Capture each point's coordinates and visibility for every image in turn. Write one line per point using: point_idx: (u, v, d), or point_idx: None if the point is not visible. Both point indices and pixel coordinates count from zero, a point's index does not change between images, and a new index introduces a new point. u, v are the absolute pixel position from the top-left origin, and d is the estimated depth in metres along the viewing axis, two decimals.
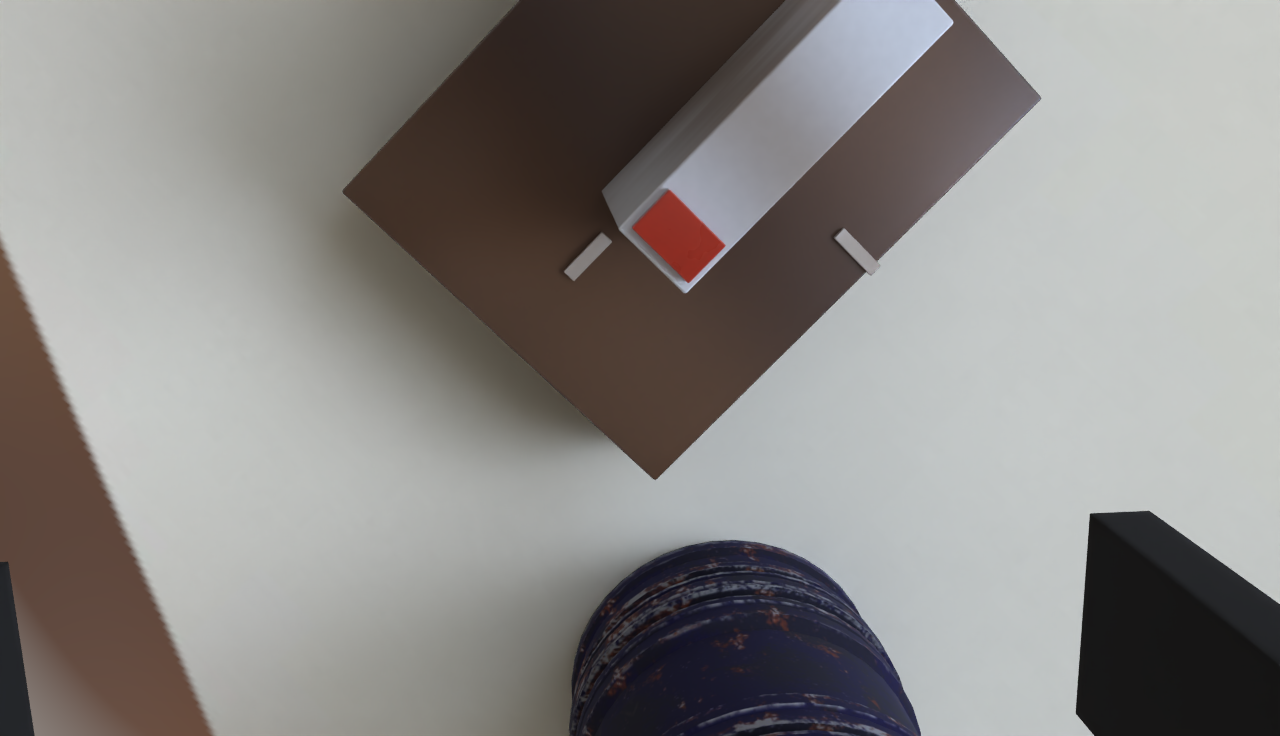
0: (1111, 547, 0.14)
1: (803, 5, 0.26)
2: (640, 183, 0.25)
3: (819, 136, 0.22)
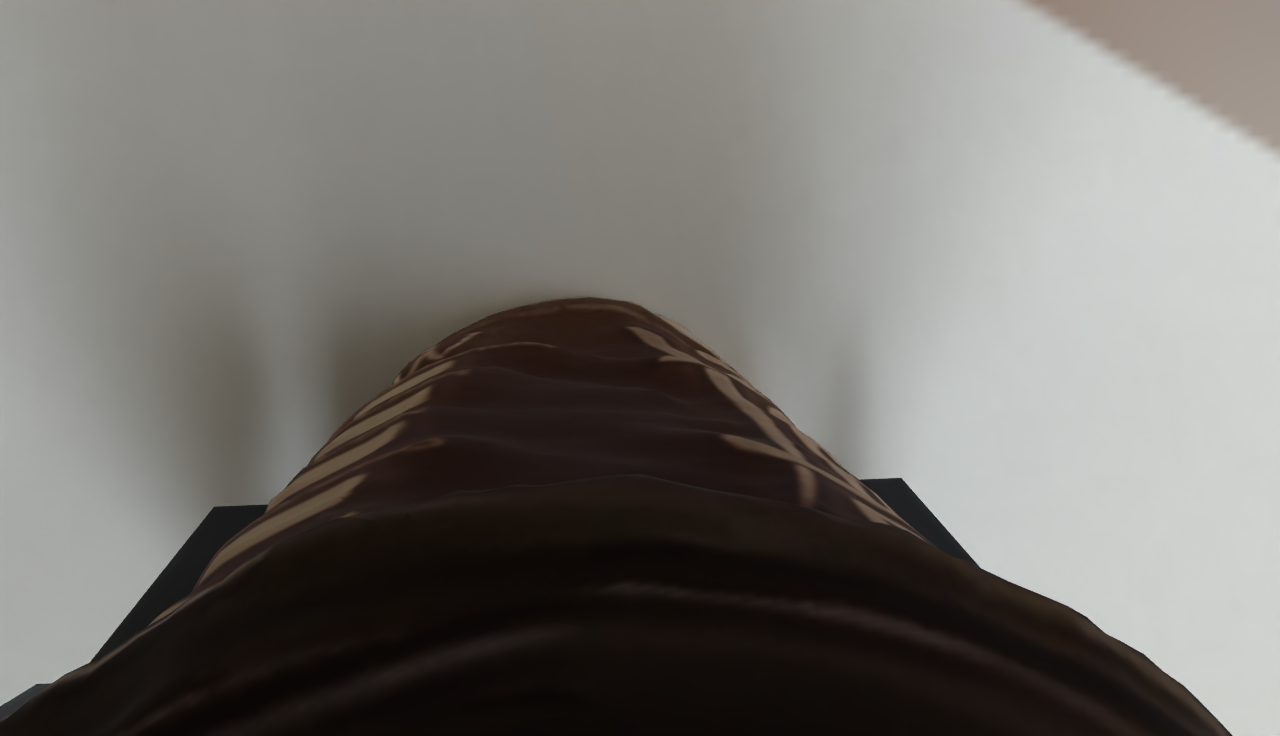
0: None
1: None
2: None
3: None
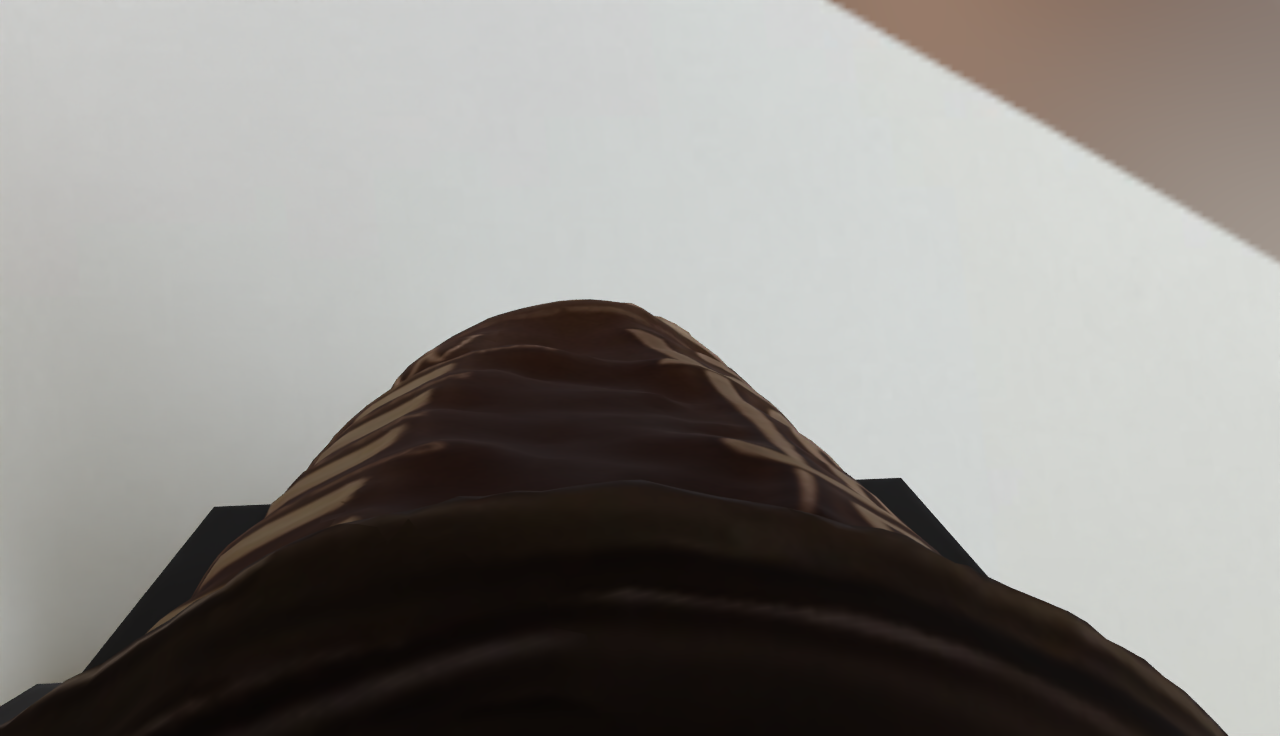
0: None
1: None
2: None
3: None
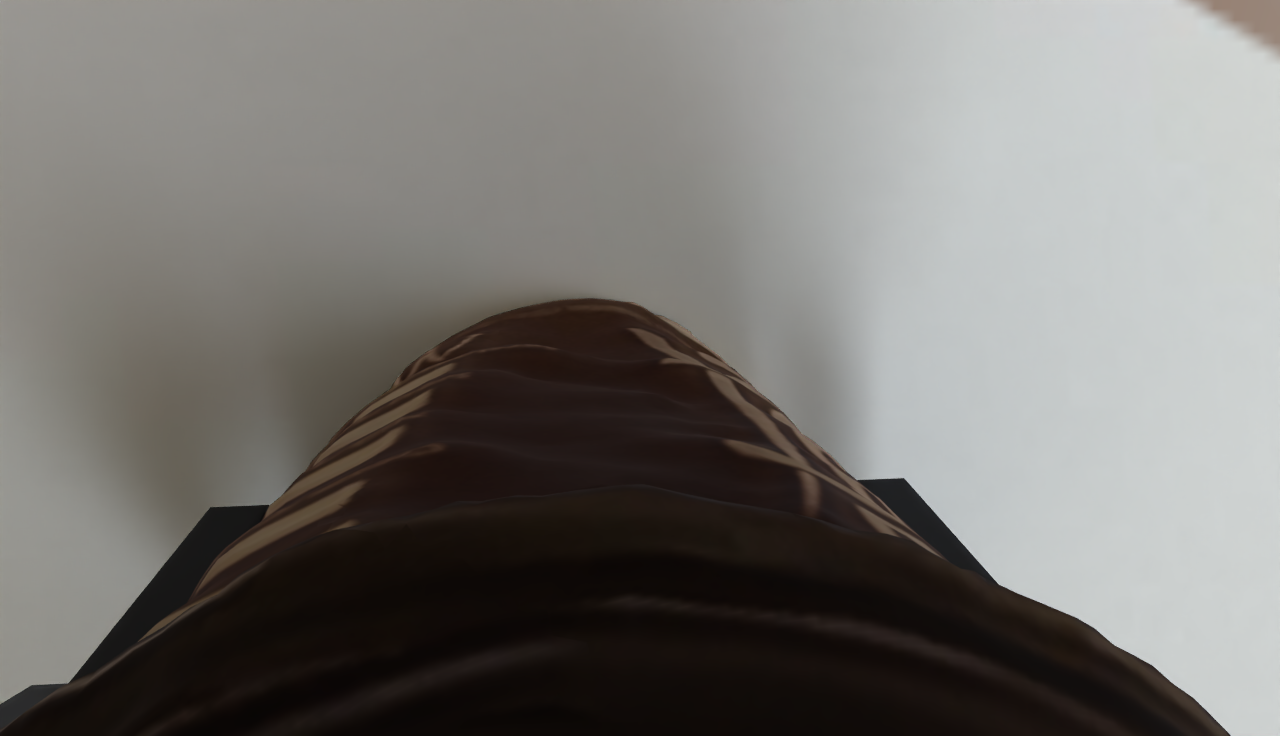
0: None
1: None
2: None
3: None
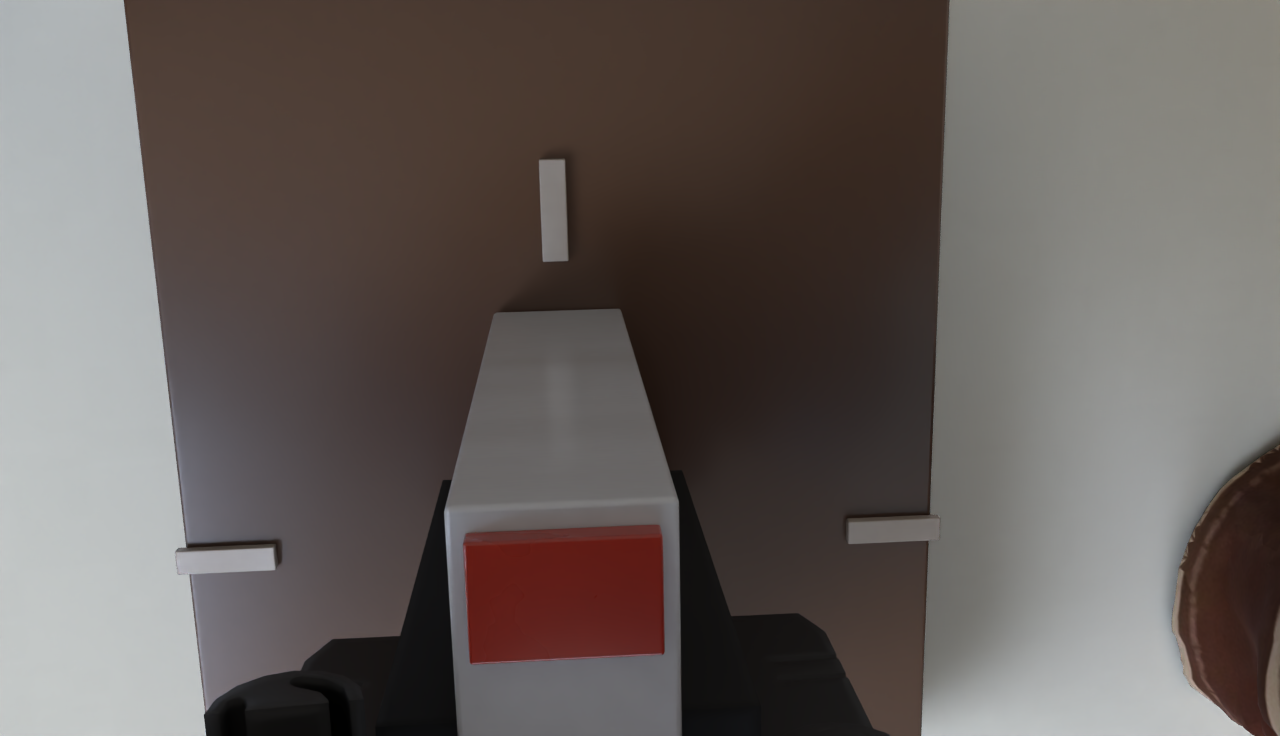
0: None
1: None
2: None
3: None
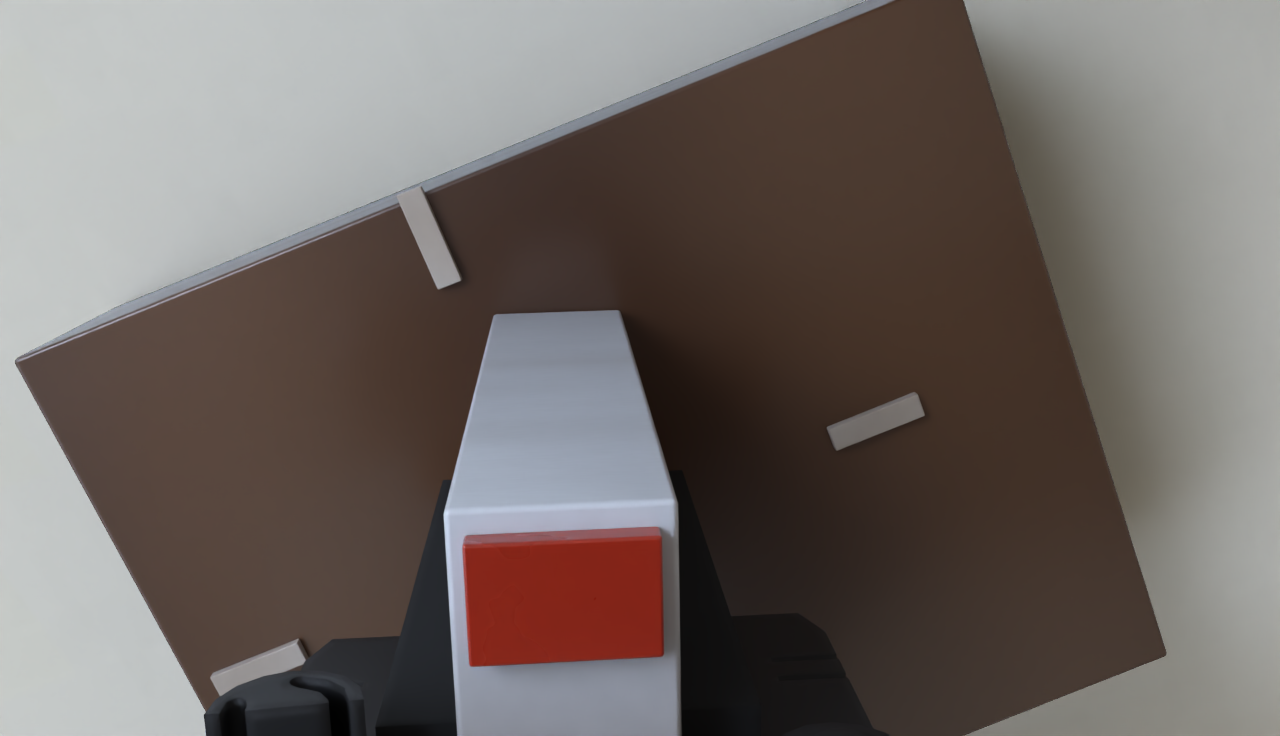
0: None
1: None
2: None
3: None
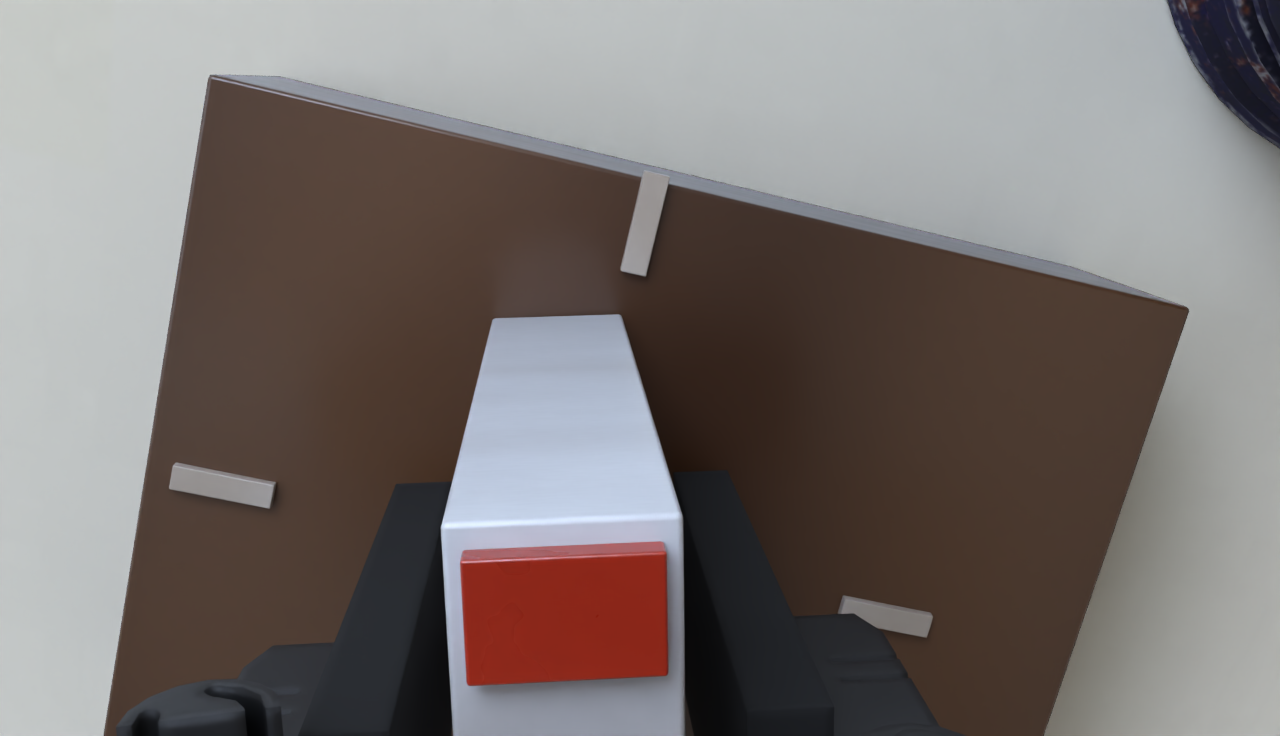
0: (678, 500, 0.16)
1: None
2: None
3: None
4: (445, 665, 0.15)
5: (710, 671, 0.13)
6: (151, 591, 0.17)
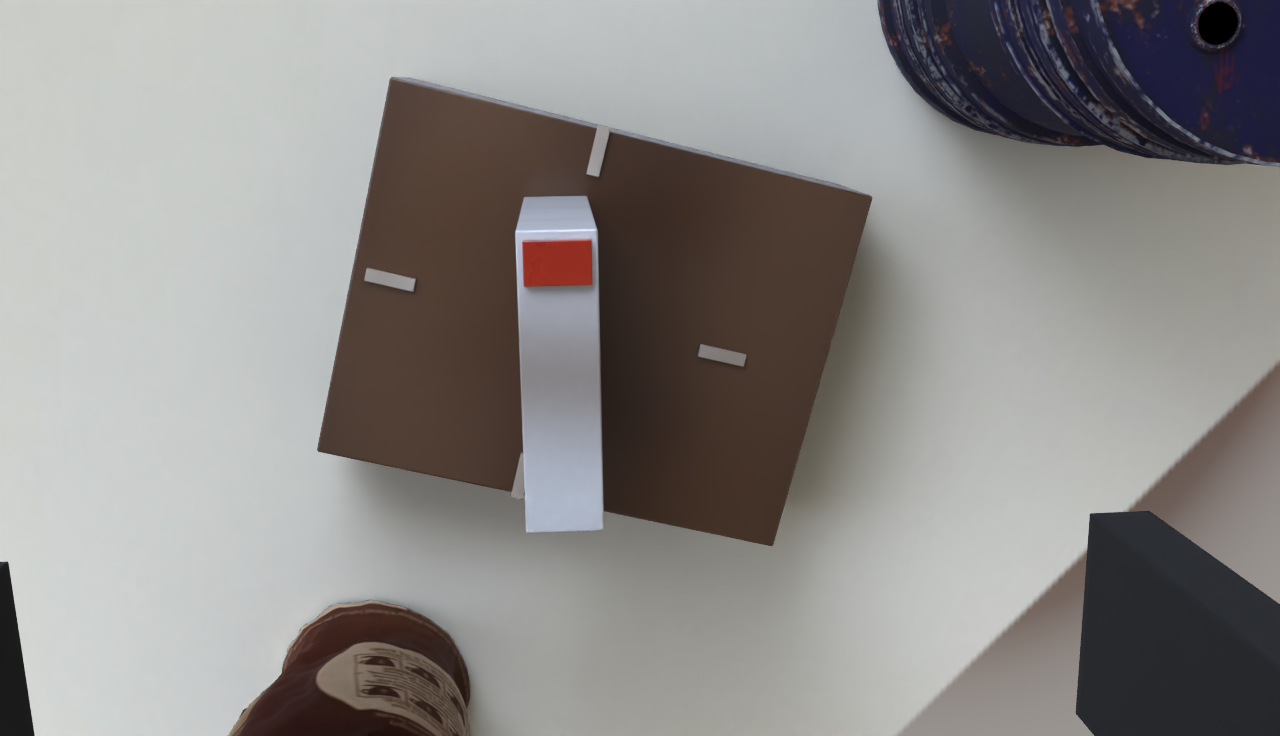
0: (1111, 546, 0.14)
1: None
2: None
3: (535, 400, 0.27)
4: None
5: None
6: (352, 334, 0.34)
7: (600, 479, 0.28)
